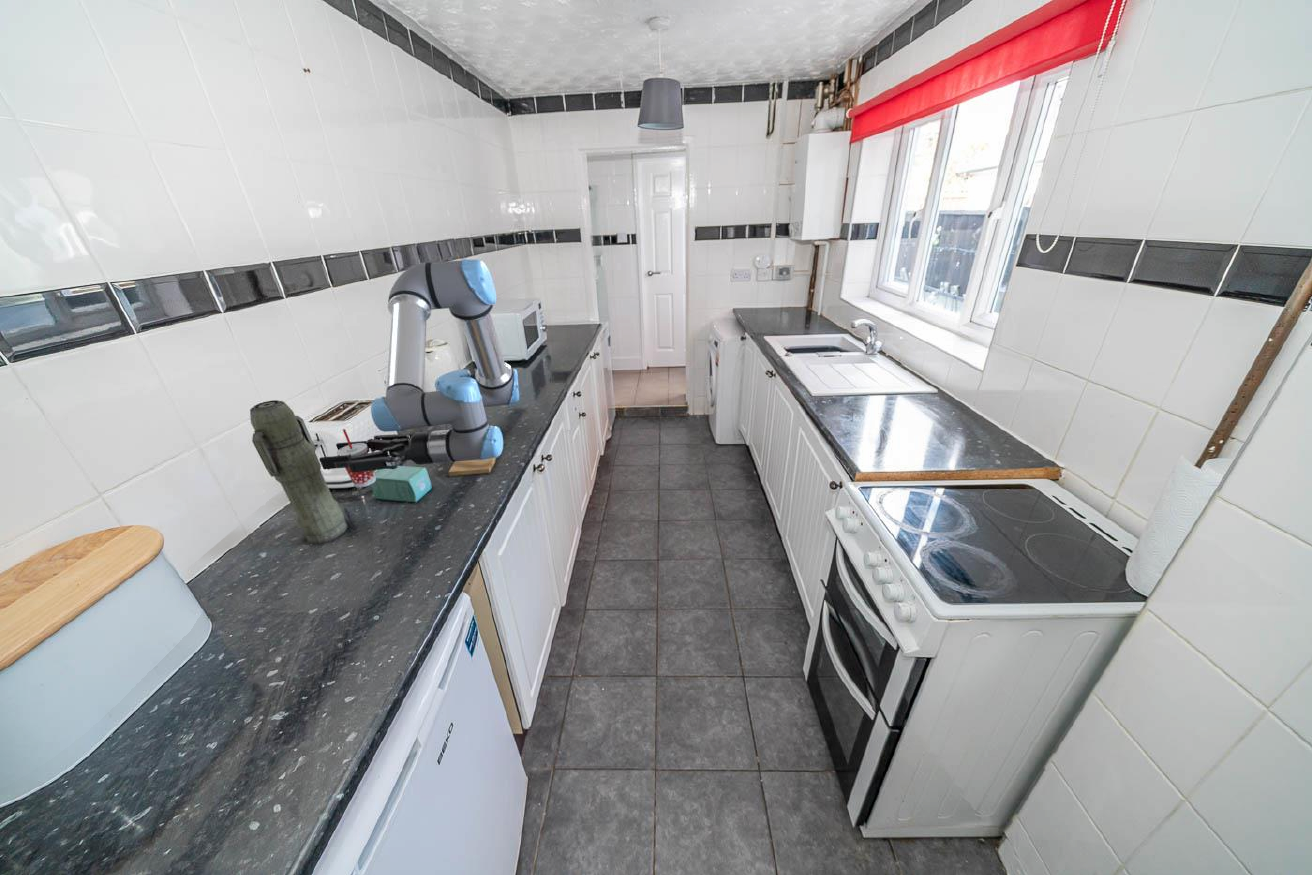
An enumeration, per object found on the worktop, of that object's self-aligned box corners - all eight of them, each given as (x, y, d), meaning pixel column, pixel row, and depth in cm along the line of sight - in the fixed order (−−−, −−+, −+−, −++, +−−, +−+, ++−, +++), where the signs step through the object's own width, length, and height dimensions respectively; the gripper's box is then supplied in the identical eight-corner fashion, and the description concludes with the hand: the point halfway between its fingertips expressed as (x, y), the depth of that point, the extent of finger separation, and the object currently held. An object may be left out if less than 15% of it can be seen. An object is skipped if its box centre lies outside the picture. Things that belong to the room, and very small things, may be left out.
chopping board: (466, 448, 152) (465, 444, 151) (502, 445, 153) (501, 441, 152) (449, 476, 136) (448, 472, 135) (490, 472, 137) (488, 468, 136)
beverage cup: (358, 476, 111) (337, 424, 104) (384, 474, 111) (364, 422, 105) (345, 490, 105) (322, 436, 99) (372, 488, 105) (350, 434, 99)
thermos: (358, 516, 120) (305, 393, 104) (330, 546, 109) (267, 413, 93) (324, 518, 120) (266, 395, 104) (294, 548, 109) (224, 416, 93)
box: (417, 503, 124) (409, 479, 121) (374, 500, 127) (365, 477, 123) (433, 488, 130) (426, 466, 127) (392, 485, 133) (384, 463, 130)
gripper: (422, 483, 99) (312, 492, 97) (450, 442, 116) (357, 450, 114) (412, 453, 95) (298, 462, 94) (442, 415, 112) (346, 423, 111)
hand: (331, 455), depth 104 cm, fingers closed on beverage cup, 6 cm apart
